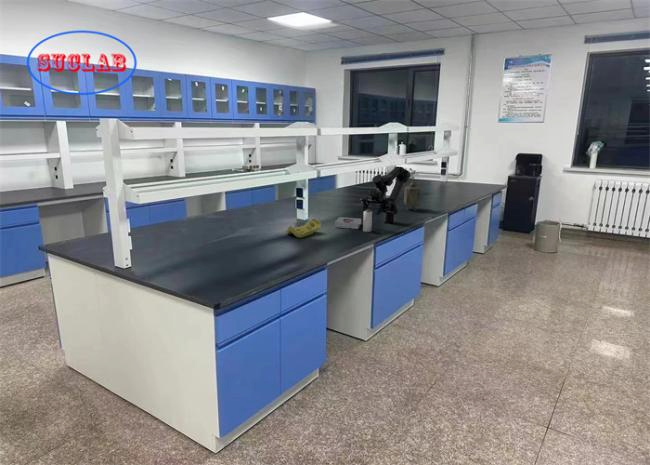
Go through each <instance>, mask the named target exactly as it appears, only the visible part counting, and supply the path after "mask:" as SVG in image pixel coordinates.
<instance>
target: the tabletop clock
mask: <svg viewBox="0 0 650 465" xmlns="http://www.w3.org/2000/svg"><path fill="white" fill-rule="evenodd" d="M420 192H421V188H420V187H419V186H418V185H417V184H416V182H415V176H412V177H411V182H410V183H409V185H406V186H404V191H403V204H404V205H406V206H407V208H406V210H407V211H408V210H410V207H411V209H414V212H417V211H418V210H417V209H416V207H419V206H420V196H421V195H420V194H421V193H420Z"/></svg>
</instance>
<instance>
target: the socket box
mask: <svg viewBox="0 0 650 465" xmlns="http://www.w3.org/2000/svg"><path fill="white" fill-rule="evenodd" d="M361 225H362V218H359V217H358V218H355V217H343V216H341V217H340V216H339V217H338V218H337V219H336V220H335V221H334V228H337V229H350V228H351V230H359V228H360V227H361Z"/></svg>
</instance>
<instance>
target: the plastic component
mask: <svg viewBox="0 0 650 465" xmlns="http://www.w3.org/2000/svg"><path fill="white" fill-rule="evenodd" d="M321 227H322V222H320V221H319V220H318V219H317V218H311V220H310V221H308V222H306V223H305V224H304V225H302V226H298V227H295V228H294V227H293V226H292V225H290V226H288V228H287V230H286V234H287V235H292V234H293V235H294V236H295V237H296V238H299V239H301V238H304V237H307V236H310V235H313V234H314V233H315V232H317V231H318V230H320V229H321Z"/></svg>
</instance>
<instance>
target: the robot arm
mask: <svg viewBox="0 0 650 465" xmlns="http://www.w3.org/2000/svg"><path fill="white" fill-rule="evenodd" d="M410 178H411V172H410V171H409V170H408V169H406V168H404V167H403V166H395V167H394V168H393V169H392V170H391V171H390V172H388V173H387V174H383V175H382V174H379V173H377V174H376V175H375V176H373V177H372V179H371V181H372V183H373V185H374V188H375V189H376V190H375V189H369V191H368V196H369V198H370V199H369V198H368V196H361V197H360V199H359V200H360V202H361V204H362V214H364V211H365V210H368V209H369V206H370V204H373V205H379V207H378V210H377V212H376V216H379V215H380V214H381V213H384V214H385V218H384V222H383V223H385V224H395V223H396V222H395V221H396V220H395V215H397V214H398V212H399V208H398V206H397V204H398V203H397V200H398V197H399V195H400V192H401V191H402V188H403V186H404V185H405V184H406V183H407V182H408V181H409V179H410ZM395 179H396V181H395V184H394V180H395ZM392 184H394V186H393V187H392V190H391V193H390V195H389V196H388V197H385V195H386V193H388V192H389V191H388V187H390V186H392Z"/></svg>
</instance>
